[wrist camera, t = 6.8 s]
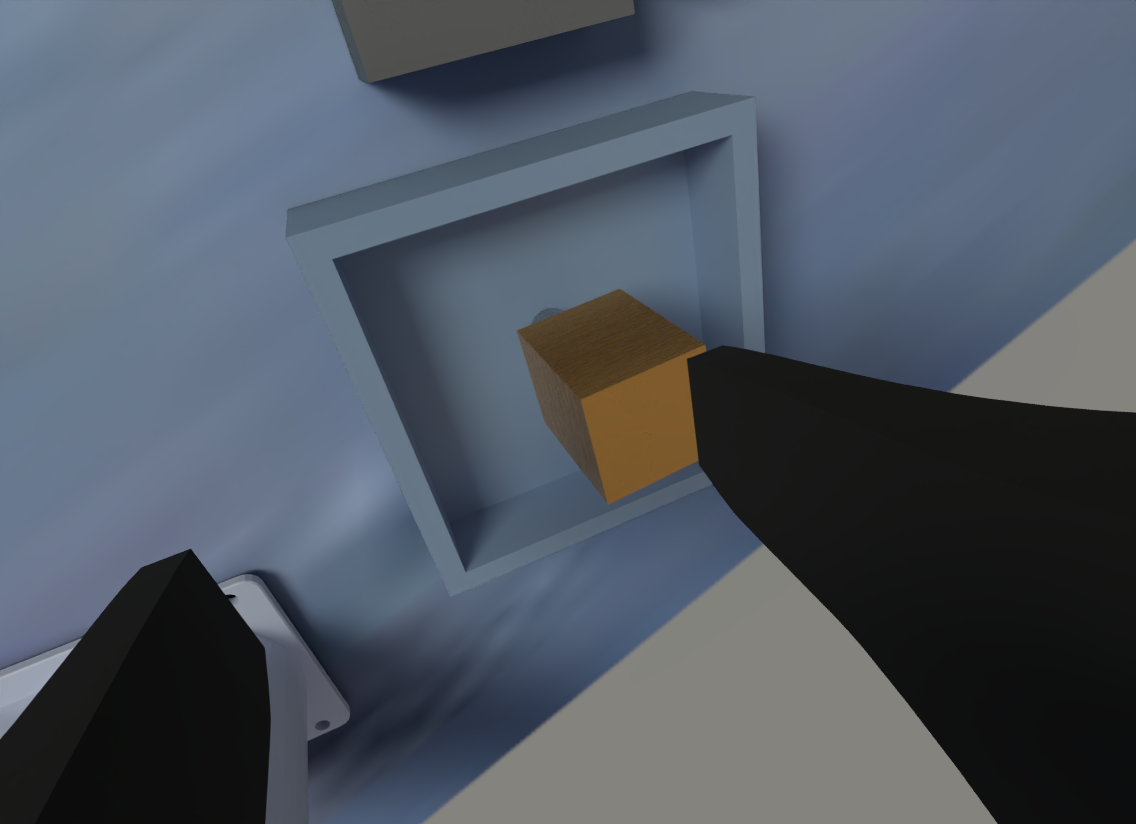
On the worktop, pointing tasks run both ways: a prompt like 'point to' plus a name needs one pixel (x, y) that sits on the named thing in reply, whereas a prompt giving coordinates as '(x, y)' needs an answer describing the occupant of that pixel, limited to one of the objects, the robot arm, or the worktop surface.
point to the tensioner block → (455, 28)
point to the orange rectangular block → (615, 390)
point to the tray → (529, 307)
